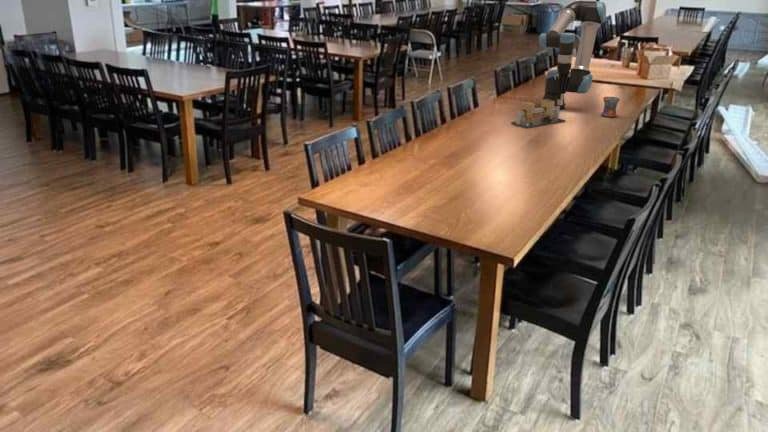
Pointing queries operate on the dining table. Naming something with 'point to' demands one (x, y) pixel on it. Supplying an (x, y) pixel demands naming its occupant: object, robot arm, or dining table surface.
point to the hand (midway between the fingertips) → (559, 104)
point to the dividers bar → (530, 108)
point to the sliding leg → (547, 107)
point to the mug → (610, 106)
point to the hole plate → (539, 122)
